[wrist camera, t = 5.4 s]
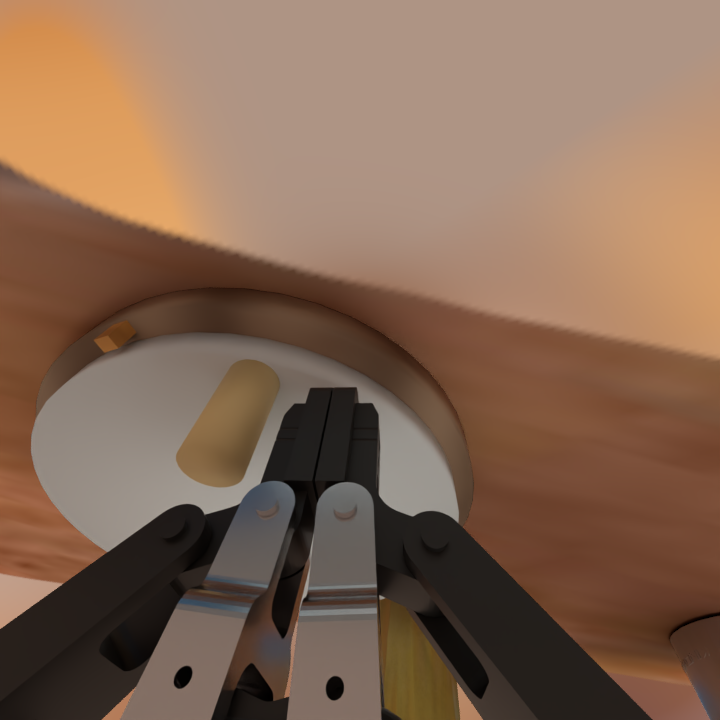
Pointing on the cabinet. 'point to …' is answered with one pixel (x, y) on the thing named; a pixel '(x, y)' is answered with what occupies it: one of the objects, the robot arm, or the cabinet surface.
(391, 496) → the turntable
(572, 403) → the cabinet surface
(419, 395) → the turntable base
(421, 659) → the vase
